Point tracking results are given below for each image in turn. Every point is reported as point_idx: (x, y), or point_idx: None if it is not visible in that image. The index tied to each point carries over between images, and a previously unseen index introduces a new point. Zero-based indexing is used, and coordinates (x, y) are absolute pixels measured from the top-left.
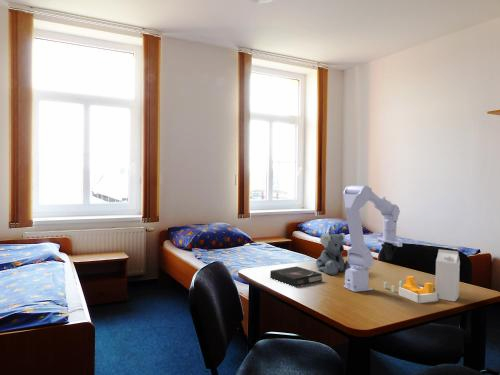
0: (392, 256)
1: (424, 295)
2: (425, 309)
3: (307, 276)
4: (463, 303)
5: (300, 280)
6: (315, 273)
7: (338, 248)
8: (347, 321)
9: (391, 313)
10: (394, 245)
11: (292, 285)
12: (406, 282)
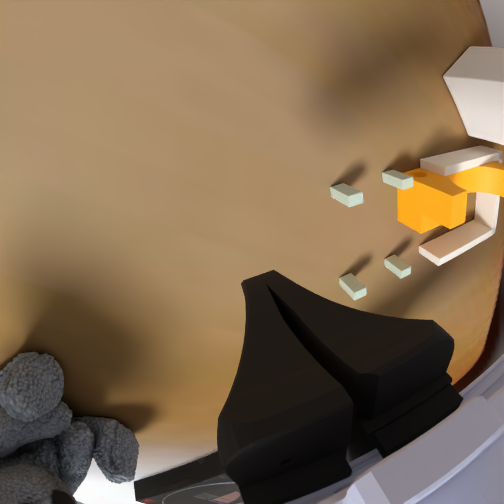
0: (295, 283)
1: (496, 211)
2: (496, 229)
3: None
4: None
5: None
6: (226, 479)
7: None
8: (457, 376)
9: (476, 312)
10: (444, 384)
11: None
12: (430, 216)
